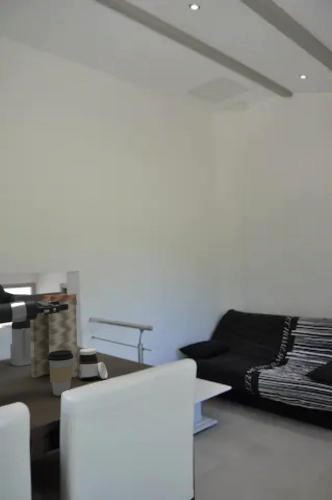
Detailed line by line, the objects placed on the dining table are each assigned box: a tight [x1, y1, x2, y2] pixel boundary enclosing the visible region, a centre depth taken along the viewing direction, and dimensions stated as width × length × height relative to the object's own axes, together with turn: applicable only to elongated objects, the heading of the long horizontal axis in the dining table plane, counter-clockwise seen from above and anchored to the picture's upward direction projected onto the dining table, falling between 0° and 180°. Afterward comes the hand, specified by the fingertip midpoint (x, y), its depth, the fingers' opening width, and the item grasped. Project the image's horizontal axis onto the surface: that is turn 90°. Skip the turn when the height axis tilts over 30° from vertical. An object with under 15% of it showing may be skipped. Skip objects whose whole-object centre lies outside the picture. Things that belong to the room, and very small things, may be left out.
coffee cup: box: [47, 350, 74, 397], centre depth 157 cm, size 9×9×15 cm
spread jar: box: [78, 347, 108, 381], centre depth 176 cm, size 12×11×12 cm
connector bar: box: [14, 291, 63, 302], centre depth 181 cm, size 21×3×3 cm, turn 139°
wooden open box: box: [30, 293, 79, 383], centre depth 181 cm, size 13×16×34 cm
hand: (63, 305), depth 168 cm, fingers open, 7 cm apart
